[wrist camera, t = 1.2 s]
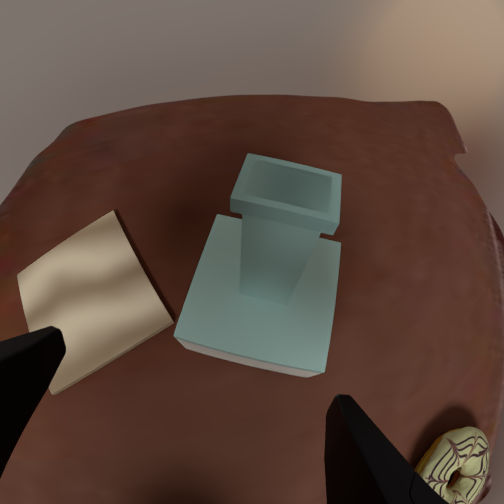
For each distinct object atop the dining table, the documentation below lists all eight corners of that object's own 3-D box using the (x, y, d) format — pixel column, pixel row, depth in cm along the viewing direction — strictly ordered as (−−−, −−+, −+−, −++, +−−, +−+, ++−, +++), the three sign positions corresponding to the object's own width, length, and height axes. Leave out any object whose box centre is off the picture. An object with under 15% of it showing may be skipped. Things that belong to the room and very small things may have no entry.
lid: (316, 374, 18) (411, 338, 8) (178, 341, 19) (112, 267, 8) (334, 254, 23) (394, 145, 12) (218, 226, 23) (210, 103, 13)
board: (174, 322, 22) (172, 320, 22) (55, 394, 18) (51, 394, 17) (114, 213, 27) (113, 210, 27) (20, 277, 23) (17, 274, 22)
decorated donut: (483, 431, 17) (506, 429, 13) (450, 515, 11) (471, 521, 8) (424, 422, 18) (449, 421, 15) (381, 520, 13) (400, 532, 10)
